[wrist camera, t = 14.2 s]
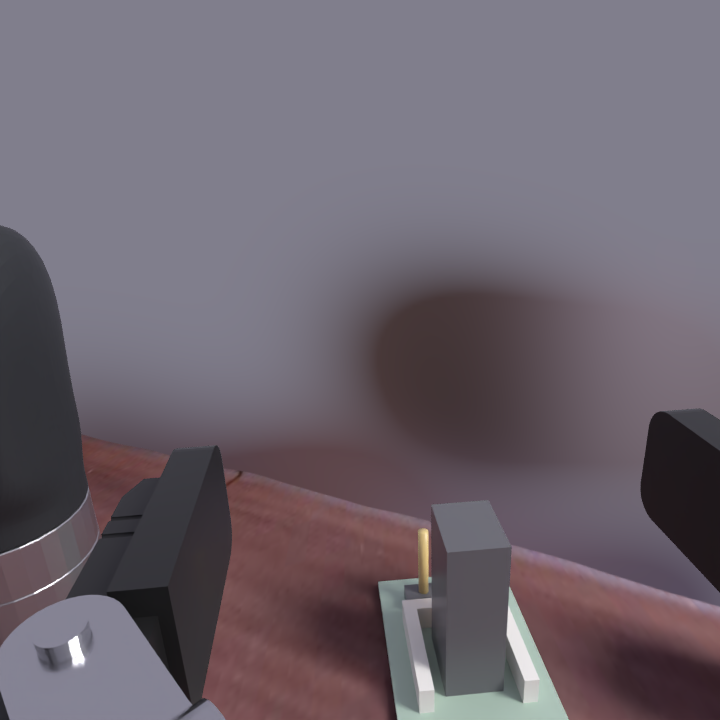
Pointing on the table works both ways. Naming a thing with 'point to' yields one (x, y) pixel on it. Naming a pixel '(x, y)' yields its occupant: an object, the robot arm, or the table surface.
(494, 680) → the block
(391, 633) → the header board
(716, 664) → the table surface
